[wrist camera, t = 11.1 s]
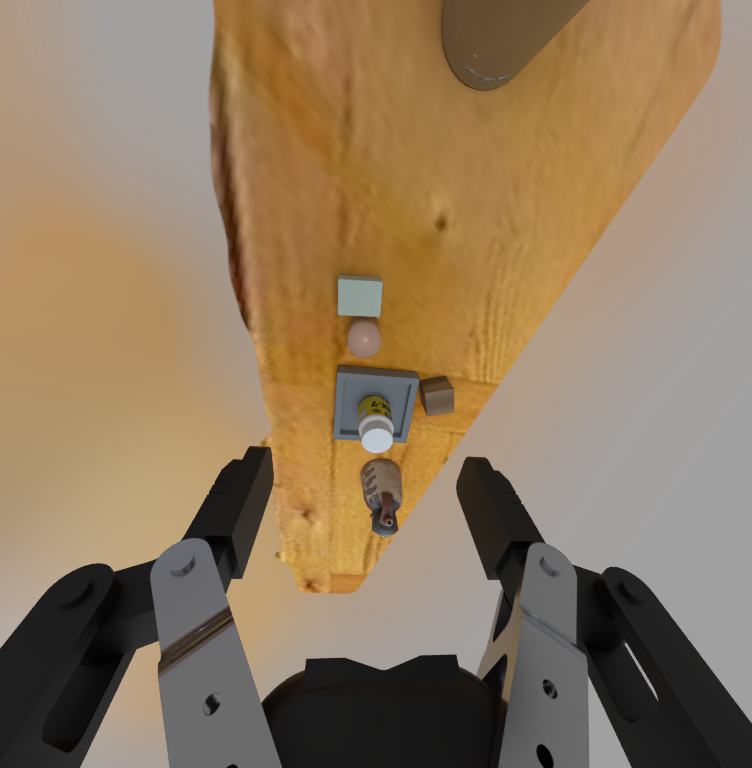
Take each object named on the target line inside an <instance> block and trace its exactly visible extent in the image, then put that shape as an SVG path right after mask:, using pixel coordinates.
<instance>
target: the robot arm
mask: <svg viewBox="0 0 752 768" xmlns="http://www.w3.org/2000/svg"><path fill="white" fill-rule="evenodd" d="M589 1H590V0H444V6H443V12H442V38H443V46H444V50H445V53H446V57H447V60H448V62H449V64H450V66H451V68H452V70H453V72H454V73H455V74H456V75H457V77H458V78H459V79H460V80H461V81H462V82H464V83H465V84H466V85H468V86H469V87H472V88H475V89H477V90H490V89H494V88H498V87H499V86H501V85H503V84H505V83H507V82H508V81H509V80H510V79H512V78H513V77H514V76H515V75H516V74H517V73H518V72H519V71H520V70H521V69H522V68H523V67H524V66H525V65H526V64H527V63H528V62H529V61H530V60H531V59H532V58H533V57H534V56H535V55H536V54H537V53H538V52H539V51H540V50H541V49H542V48H543V47H544V46H545V45H546V44H547V43H548V42H549V41H550V40H551V39H552V38H553V37H554V36H555V35H556V34H557V33H558V32H559V31H560V30H561V29H562V28H563V27H564V26H565V25H566V24H567V23H568V22H569V21H570V20H571V19H572V18H573V17H574V16H575V15H576V14H577V13H578V12H579V11H580V10H581V9H582V8H583V7H584V6H585V5H586V4H587V3H588V2H589ZM273 480H274V472H273V462H272V452H271V448H270V447H257V446H256V447H255V446H250V447H249V448H248V450H247V451H246V453H245V455H244V457H243V459H242V460H237V459H234V460H232V461H231V462H230V463H229V464H228V465H226V466H225V467H224V468H223V469H222V470H221V472H220V474H219V475H218V477H217V479H216V481H215V484H214V485H213V486H212V488H211V490H210V491H209V495H207V497H206V498H205V500H204V502H203V504H202V505H201V507H200V509H199V511H198V513H197V514H196V516H195V518H194V520H193V521H192V523H191V525H190V527H189V528H188V530H187V532H186V534H185V535H184V537H183V538H182V540H181V541H180V542H178V543H176V544H174V545H172V546H171V547H170V548H168V549H167V550H166V551H164V552H163V553H162V555H160V557H159V558H157V559H155V560H153V561H150V562H147V563H143V564H140V565H136V566H133V567H129V568H126V569H122V570H119V571H115V572H114V571H113V570H112V569H111V567H110V566H108V565H106V564H101V563H100V564H99V563H96V564H90V565H86V566H83V567H81V568H78V569H76V570H74V571H72V572H70V573H69V574H67V575H65V576H64V577H63V578H61V579H59V580H58V581H57V582H56V583H55V584H53V585H52V586H51V587H50V588H49V589H48V590H47V591H46V592H45V594H44V595H43V596H42V597H41V598H40V599H39V601H38V602H37V603H36V604H35V606H34V607H33V608H32V610H31V611H30V612H29V613H28V615H27V616H26V617H25V618H24V620H23V621H22V622H21V623H20V625H19V626H18V627H17V629H15V631H14V632H13V633H12V635H11V636H10V637H9V638H8V640H7V641H6V642H5V643H4V645H3V646H2V647H1V648H0V768H80V766H81V764H82V762H83V760H84V758H85V756H86V754H87V752H88V750H89V747H90V745H91V743H92V741H93V739H94V737H95V735H96V733H97V731H98V729H99V727H100V724H101V722H102V720H103V718H104V716H105V714H106V712H107V710H108V708H109V706H110V703H111V702H112V699H113V697H114V695H115V693H116V691H117V689H118V687H119V685H120V683H121V681H122V678H123V676H124V674H125V672H126V670H127V668H128V666H129V664H130V662H131V660H132V657H133V655H134V653H135V651H136V649H138V648H141V647H143V646H146V645H149V644H151V643H154V642H157V641H159V643H160V651H161V660H160V661H159V663H158V681H159V689H160V697H161V705H162V712H163V720H164V728H165V735H166V743H167V751H168V758H169V766H170V768H589V731H588V729H589V724H588V675H589V678H590V680H591V682H592V684H593V686H594V688H595V690H596V692H597V694H598V697H599V699H600V701H601V703H602V705H603V707H604V709H605V711H606V714H607V716H608V718H609V720H610V722H611V724H612V726H613V729H614V731H615V733H616V735H617V737H618V739H619V741H620V743H621V746H622V748H623V750H624V752H625V754H626V756H627V758H628V761H629V763H630V765H631V767H632V768H752V723H751V722H750V721H749V719H748V718H747V717H746V715H745V714H744V713H743V711H742V710H741V709H740V707H739V706H738V705H737V703H736V702H735V701H734V699H733V698H732V697H731V695H729V693H728V691H727V690H726V689H725V687H724V686H723V685H722V683H721V682H720V681H719V680H718V678H717V677H716V676H715V674H714V673H713V672H712V670H711V669H710V668H709V666H708V665H707V664H706V662H705V661H704V660H703V658H702V657H701V656H700V654H699V653H698V652H697V650H696V649H695V648H694V646H693V645H692V644H691V642H690V641H689V640H688V639H687V637H686V636H685V634H684V633H683V632H682V630H681V629H680V628H679V626H678V625H677V624H676V622H675V621H674V620H673V618H672V617H671V616H670V614H669V613H668V612H667V611H666V609H665V608H664V607H663V605H662V604H661V602H660V601H659V600H658V598H657V597H656V596H655V595H654V593H653V592H652V591H651V590H650V589H649V587H648V586H647V585H646V584H645V583H644V582H642V581H641V580H640V579H639V578H637V577H636V576H635V575H633V574H631V573H630V572H628V571H626V570H624V569H621V568H618V567H609V568H607V569H606V570H605V571H604V572H603V573H602V574H598V573H596V572H593V571H590V570H587V569H584V568H581V567H578V566H575V565H572V564H571V562H570V561H569V560H568V559H567V558H566V556H565V555H563V554H562V553H561V552H560V551H559V550H557V549H556V548H554V547H552V546H550V545H548V544H546V543H545V541H544V539H543V538H542V536H541V534H540V533H539V531H538V529H537V528H536V526H535V524H534V523H533V521H532V519H531V517H530V516H529V514H528V512H527V511H526V509H525V507H524V505H523V504H521V500H520V499H519V497H518V495H516V492H515V490H514V488H513V487H512V485H511V483H510V482H509V480H507V478H505V477H504V476H503V475H502V474H501V473H500V472H499V471H494V470H493V468H492V466H491V464H490V462H489V461H488V459H487V458H485V457H466V459H465V461H464V464H463V466H462V469H461V472H460V474H459V477H458V480H457V485H456V490H457V496H458V499H459V502H460V504H461V507H462V510H463V512H464V515H465V518H466V521H467V523H468V526H469V529H470V532H471V534H472V537H473V540H474V543H475V545H476V548H477V551H478V554H479V556H480V559H481V562H482V565H483V568H484V570H485V573H486V576H487V579H488V580H500V582H501V585H502V587H503V588H502V590H501V592H500V595H499V599H498V604H497V608H496V612H495V616H494V621H493V625H492V629H491V633H490V637H489V641H488V645H487V648H486V651H485V653H484V655H483V658H482V660H481V662H480V666H479V668H478V672H477V675H476V676H475V675H474V674H472V673H471V672H469V671H467V670H465V669H463V668H461V667H459V665H458V661H457V656H456V655H422V656H418V657H416V658H414V659H412V660H409V661H407V662H404V663H402V664H400V665H397V666H395V667H392V668H390V669H387V670H379V669H377V668H373V667H371V666H368V665H365V664H362V663H359V662H356V661H353V660H350V659H347V658H320V659H306V666H305V670H304V671H301V672H299V673H297V674H295V675H293V676H291V677H290V678H288V679H286V680H285V681H284V682H282V683H281V684H280V685H278V686H277V687H276V688H275V689H274V690H273V691H272V692H271V693H270V694H269V695H268V696H267V697H266V698H265V699H264V700H263V702H262V703H261V702H260V698H259V696H258V692H257V689H256V686H255V683H254V680H253V677H252V674H251V671H250V668H249V665H248V662H247V659H246V656H245V652H244V649H243V646H242V643H241V640H240V637H239V634H238V631H237V628H236V625H235V622H234V619H233V616H232V613H231V610H230V607H229V604H228V601H227V597H226V593H227V590H228V587H229V584H230V581H231V579H242V577H243V574H244V571H245V568H246V565H247V562H248V559H249V556H250V553H251V550H252V547H253V544H254V541H255V538H256V535H257V532H258V529H259V526H260V523H261V520H262V517H263V514H264V511H265V508H266V505H267V502H268V499H269V496H270V493H271V490H272V486H273ZM625 643H627V644H628V646H629V647H630V649H631V650H632V652H633V654H634V656H635V657H636V659H637V661H638V662H639V664H640V665H641V667H642V669H643V671H644V672H645V674H646V676H647V677H648V679H649V681H650V682H651V684H652V686H653V688H654V689H655V692H656V694H657V697H658V701H657V699H656V698H655V696H654V694H653V692H652V690H651V689H650V687H649V685H648V684H647V682H646V680H645V679H644V677H643V675H642V673H641V672H640V670H639V668H638V667H637V665H636V663H635V662H634V660H633V658H632V656H631V655H630V653H629V651H628V650H627V648H626V646H625V645H624V644H625Z"/></svg>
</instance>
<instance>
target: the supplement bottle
mask: <svg viewBox="0 0 752 768" xmlns="http://www.w3.org/2000/svg"><path fill="white" fill-rule="evenodd" d="M358 409H359V410H358V430H359V434H360V436H361V440H362V445H363V447H364V448H365V449H366V450H367V451H369V452H372V453H381V452H384V451H386V450H388V449H389V448H390V447H391V445H392V443H393V432H394V425H393V420H392V415H391V409H390V404H389V401H388V400H387V398H386V397H384V396H383V395H381V394H377V393H372V394H368V395H366V396H364V397H363V398H362V399H361V401H360V403H359V407H358Z"/></svg>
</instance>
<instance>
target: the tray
mask: <svg viewBox="0 0 752 768" xmlns="http://www.w3.org/2000/svg"><path fill="white" fill-rule="evenodd" d="M419 381H420V378H419V376H418V374H417V372H414V371H402V370H390V369H378V368H366V367H353V366H341V365H338V371H337V386H336V403H335V420H334V437H333V439H340V440H359V441H362V440H361V436H360V434H359V430H358V410H359V409H358V407H359V403H360V401H361V399H362V398H363V397H364V396H366V395H368V394H372V393H377V394H381V395H383V396H384V397H386V398H387V400H388V401H389V404H390V409H391V415H392V420H393V425H394V432H393V442H397V443H406V441H407V436H408V432H409V427H410V422H411V418H412V413H413V408H414V404H415V399H416V395H417V390H418V385H419Z"/></svg>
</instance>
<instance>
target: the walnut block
mask: <svg viewBox="0 0 752 768" xmlns="http://www.w3.org/2000/svg"><path fill="white" fill-rule="evenodd" d="M420 391H421V402H422V405H423V407H424V410H425V412H426V415H427V416H433V415H439V414H445V413H451V412H454V388H453V387H452V385H451V384H450V382H449V380H448V379H447V377H446V376H442V377H436V378H430V379H424V380H420Z"/></svg>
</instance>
